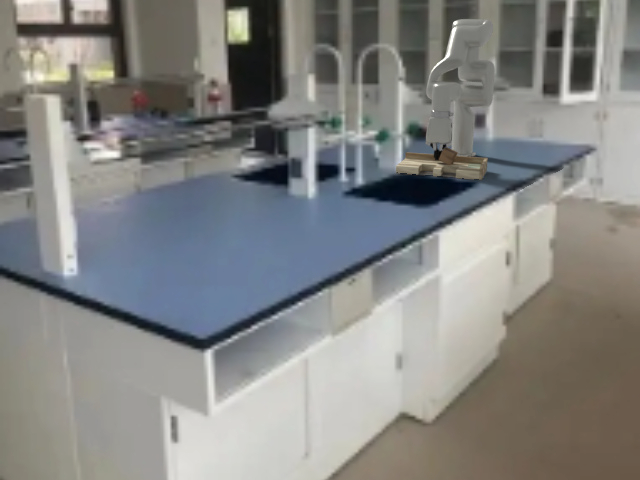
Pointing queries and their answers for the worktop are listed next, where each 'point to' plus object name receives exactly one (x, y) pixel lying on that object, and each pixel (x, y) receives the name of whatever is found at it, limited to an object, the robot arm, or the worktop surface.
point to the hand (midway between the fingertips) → (437, 159)
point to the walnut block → (448, 156)
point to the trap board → (443, 166)
